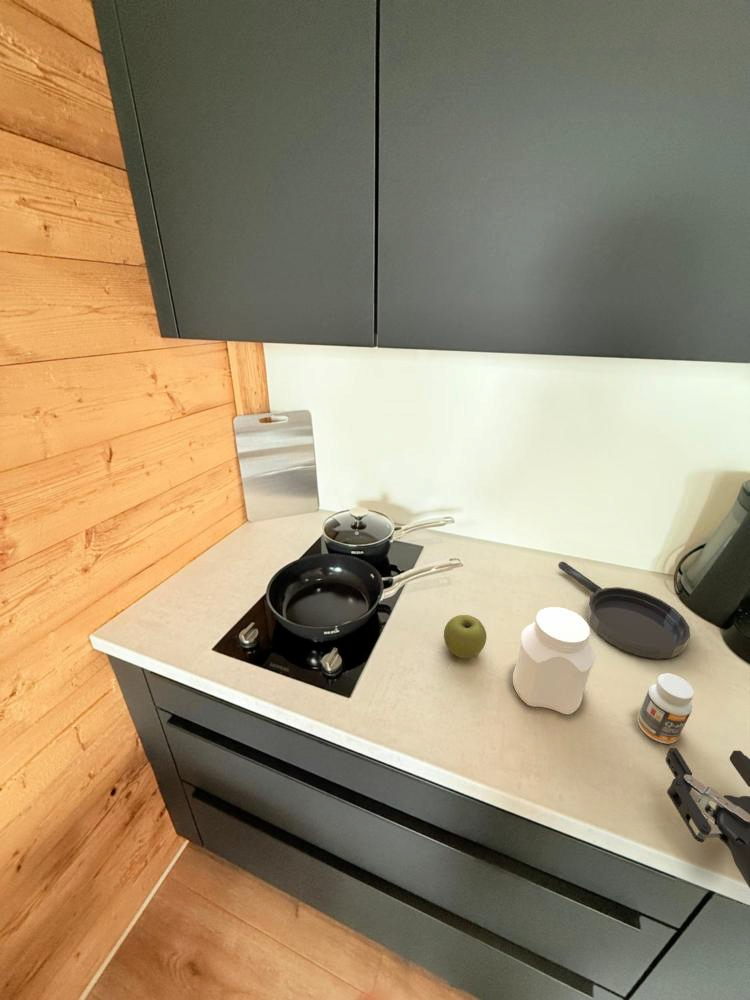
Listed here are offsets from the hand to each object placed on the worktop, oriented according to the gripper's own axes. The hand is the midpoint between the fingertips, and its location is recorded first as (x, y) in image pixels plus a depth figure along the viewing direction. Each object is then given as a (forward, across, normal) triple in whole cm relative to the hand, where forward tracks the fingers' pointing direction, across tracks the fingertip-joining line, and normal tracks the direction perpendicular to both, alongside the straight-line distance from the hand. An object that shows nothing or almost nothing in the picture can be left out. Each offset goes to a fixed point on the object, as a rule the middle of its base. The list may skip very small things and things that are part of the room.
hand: (702, 752), depth 59 cm
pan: (+32, -8, +6) cm, 33 cm away
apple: (+23, +29, +6) cm, 38 cm away
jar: (+15, +16, +6) cm, 23 cm away
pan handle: (+45, -2, +5) cm, 45 cm away
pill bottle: (+8, 0, +6) cm, 10 cm away
